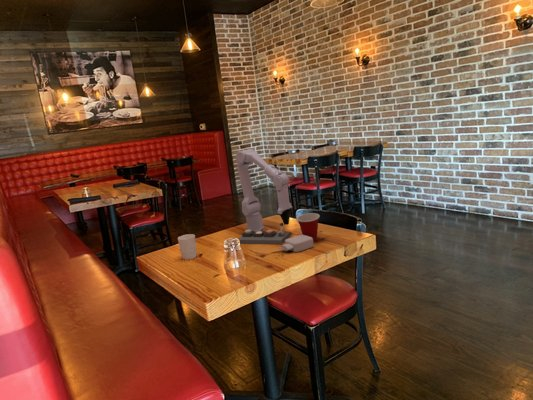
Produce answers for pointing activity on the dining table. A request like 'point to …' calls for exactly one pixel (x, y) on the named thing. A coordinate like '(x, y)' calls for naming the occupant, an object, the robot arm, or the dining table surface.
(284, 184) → the robot arm
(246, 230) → the button sage
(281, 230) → the toggle lever
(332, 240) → the dining table surface
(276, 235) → the control panel
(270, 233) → the button terracotta
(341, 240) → the dining table surface
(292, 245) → the white bottle
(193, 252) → the white cup
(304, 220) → the plastic cup
